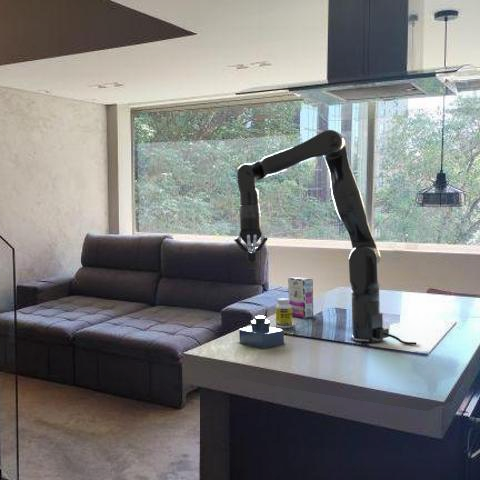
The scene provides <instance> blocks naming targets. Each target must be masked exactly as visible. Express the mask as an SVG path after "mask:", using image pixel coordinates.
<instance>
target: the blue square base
mask: <svg viewBox="0 0 480 480" xmlns="http://www.w3.org/2000/svg"><path fill="white" fill-rule="evenodd" d="M238 333H239V335H238V336H239V344H242V345H247V346H249V347H250V346H251V347H254V348H258V349H260V350H261V349H262V350H264V349H268V348H269V349H270V348H273V347H277V346H281V345H285V334H284V333H285V332H284V329H282V328H276V327H271V321H270V320H268V319H265V322H264V323H256V322H255V319H253V320H250V326H247V327H243V328H239V329H238Z"/></svg>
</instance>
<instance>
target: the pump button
mask: <svg viewBox="0 0 480 480" xmlns="http://www.w3.org/2000/svg"><path fill="white" fill-rule="evenodd" d="M254 320H255V322H256V323H264V322H265V320H266V316H264V315H257V316H255V317H254Z"/></svg>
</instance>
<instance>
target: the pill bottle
mask: <svg viewBox="0 0 480 480" xmlns="http://www.w3.org/2000/svg"><path fill="white" fill-rule="evenodd" d="M289 303H290V299H289V297H288V298H287V297H285V298H284V297H281V298H277V304H276V305H275V326H276V327H277V328H278V329H289V328H292V327H293V316H292V306H291V305H290V304H289Z"/></svg>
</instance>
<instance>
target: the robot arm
mask: <svg viewBox="0 0 480 480" xmlns="http://www.w3.org/2000/svg"><path fill="white" fill-rule="evenodd" d="M346 145H347V144H346V141H345V137H344V136H343V135H342V134H341V133H340V132H338V131H336V130H334V129H325V130H323V131H321V132H319V133H318V134H316V135H314V136H313V137H311V138H309V139H307V140H305V141H302V142H301V143H299V144H296V145H294V146H292V147H289V148H286V149H284V150H280V151H278V152H275V153H272V154H270V155H267V156H264V157H263V158H262V159H261V160H258V161H256V162H253V163H243V164H240V166H238V168H237V171H236V181H237V186H238V191H239V204H240V205H239V227H240V228H239V229H240V231H239V234H238V236H237V237H235V238H234V239H233V240H234V242H235V244H237V246H238V247H239V248H240V249H241V250H242V252H245V253H246V256H247V257H246V258H247V261H248V262H249V263H250V264H252V263H255V261H256V253H257V252H259V251H261V249H262V248H263V247H264V245H265V244H266V242H267V241H268V239H269V238H268V237H267V236H265V235H264V234H263V232H262V230H261V210H260V197H259V194H260V193H259V190H258V189H257V188H256V182H258V181H260V180H262V179H264V178H267V177H268V176H272V175H275V174H278V173H280V172H284V171H286V170H288V169H291V168H293V167H294V166H296V165H298V164H300V163H303V162H305V161H308V160H311V159H314V158H320V157H323V158H324V161H325V164H326V166H327V168H328V172H329V179H330V188H331V196H332V200H333V203H334V207H335V210H336V213H337V216H338V217H339V219H340V220H341V223H342V225H343V226H344V228H345V229H346V231H347V233H348V236H349V239H350V243H351V248H352V250H351V251H350V253H349V256H348V270H349V271H348V272H349V273H348V274H349V283H350V284H349V285H350V287H351V323H352V324H351V325H352V327H351V328H352V329H351V330H352V335H351V337H352V338H351V339H352V340H353V341H355V342H358V343H359V342H360V343H370V344H373V343H376V342H381V341H384V339H386V338H391V339H394V340H397V341H398V342H399V343H401V344H404V345H410V346H411V345H413V346H416V345H417V342H415V341H405V340H402V339H400V337H397V336H395V335H393V334H390V333H389V332H390V331H389V330H390V329H389V328H388V327H384V324H383V323H384V321H383V316H384V315H383V313H382V312H381V305H380V304H381V303H380V282H379V279H378V266H379V264H380V261H381V253H380V251H379V248H378V246H377V244H376V241H375V239H374V237H373V234H372V232H371V229H370V226H369V222H368V217H367V212H366V209H365V205H364V201H363V197H362V195H361V192H360V189H359V186H358V183H357V180H356V178H355V176H354V173H353V170H352V168H351V166H350V162H349V156H348V152H347V151H348V150H347V146H346ZM259 240H260V241H259ZM242 241H243V242H244V243H245V246H246V247H245V246H244V244H243V243H242ZM258 242H259V243H258ZM257 243H258V244H257Z"/></svg>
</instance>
